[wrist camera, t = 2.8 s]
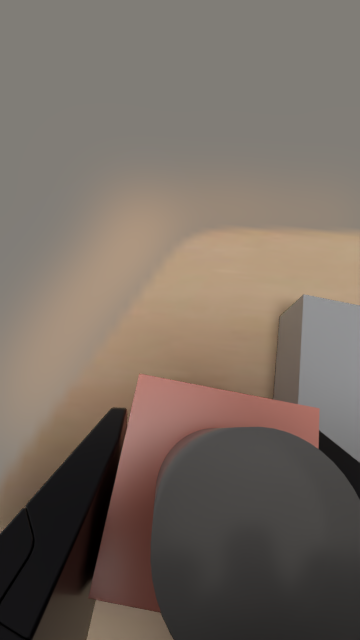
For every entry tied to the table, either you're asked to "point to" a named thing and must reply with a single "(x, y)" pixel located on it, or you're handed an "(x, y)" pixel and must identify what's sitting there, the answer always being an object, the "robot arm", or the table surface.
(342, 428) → the socket plate
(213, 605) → the plug
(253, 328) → the table surface
